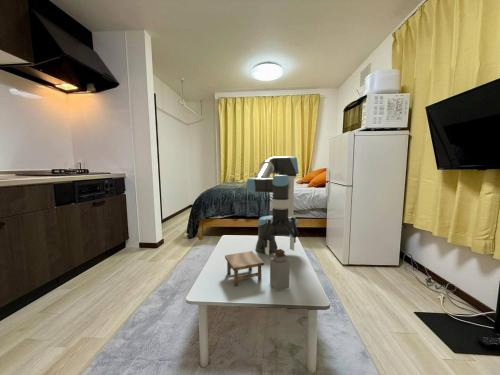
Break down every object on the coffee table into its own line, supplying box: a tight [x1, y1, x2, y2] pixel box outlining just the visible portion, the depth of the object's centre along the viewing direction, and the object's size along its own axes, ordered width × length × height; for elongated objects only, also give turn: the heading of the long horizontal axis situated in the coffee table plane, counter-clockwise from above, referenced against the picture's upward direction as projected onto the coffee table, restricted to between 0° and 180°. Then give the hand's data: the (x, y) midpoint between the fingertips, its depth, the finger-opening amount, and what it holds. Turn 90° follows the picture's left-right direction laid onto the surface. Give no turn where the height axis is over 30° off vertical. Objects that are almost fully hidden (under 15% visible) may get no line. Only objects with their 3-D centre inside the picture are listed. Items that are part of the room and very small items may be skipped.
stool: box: [224, 250, 265, 287], centre depth 116 cm, size 16×16×10 cm
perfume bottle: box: [269, 248, 291, 292], centre depth 106 cm, size 7×7×18 cm
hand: (279, 251), depth 105 cm, fingers open, 13 cm apart
